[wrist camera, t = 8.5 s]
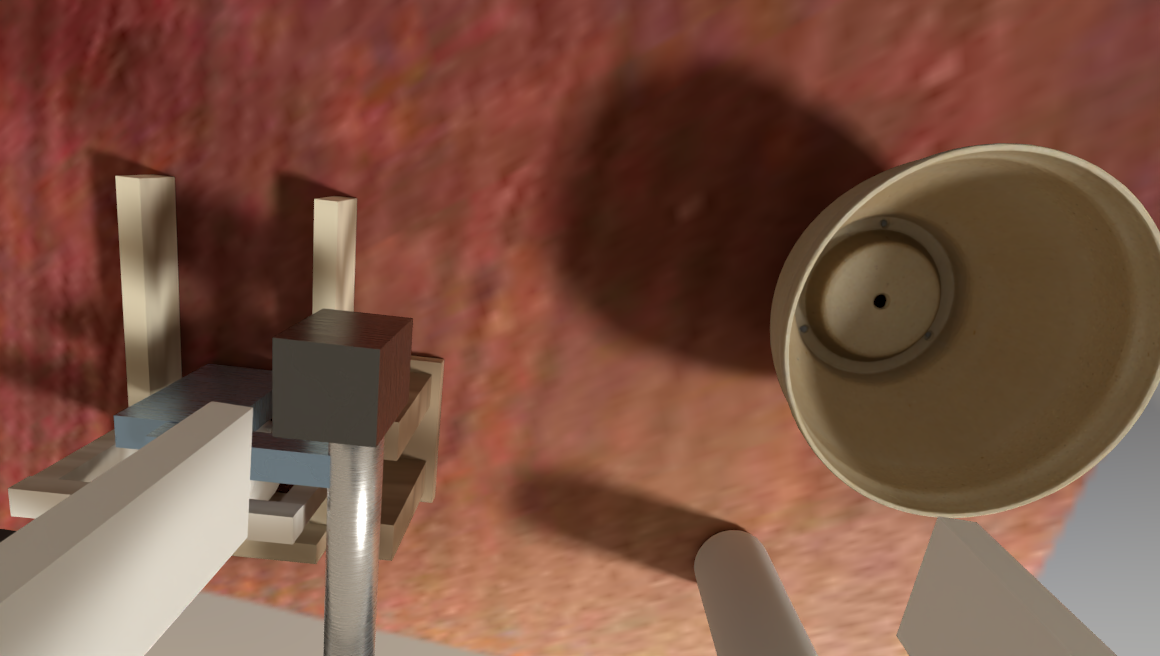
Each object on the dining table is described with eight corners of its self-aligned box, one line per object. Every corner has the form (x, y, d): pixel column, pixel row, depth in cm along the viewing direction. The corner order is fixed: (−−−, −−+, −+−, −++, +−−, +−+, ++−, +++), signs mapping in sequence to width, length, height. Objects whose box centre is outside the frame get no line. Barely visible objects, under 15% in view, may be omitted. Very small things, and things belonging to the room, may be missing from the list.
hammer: (205, 258, 37) (12, 308, 24) (447, 285, 37) (380, 349, 25) (213, 584, 42) (58, 765, 29) (425, 605, 42) (361, 792, 30)
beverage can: (693, 594, 43) (736, 756, 31) (689, 528, 42) (732, 671, 30) (768, 588, 43) (838, 748, 31) (766, 521, 42) (839, 662, 30)
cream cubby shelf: (376, 351, 39) (325, 399, 31) (444, 359, 39) (410, 408, 31) (370, 489, 41) (321, 566, 33) (434, 496, 41) (401, 574, 33)
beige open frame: (137, 172, 36) (-27, 177, 26) (371, 200, 37) (295, 214, 27) (153, 496, 41) (20, 602, 31) (359, 517, 41) (291, 629, 32)
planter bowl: (1029, 144, 36) (1216, 138, 25) (989, 421, 40) (1137, 515, 29) (733, 151, 36) (797, 148, 25) (724, 426, 40) (775, 522, 29)
